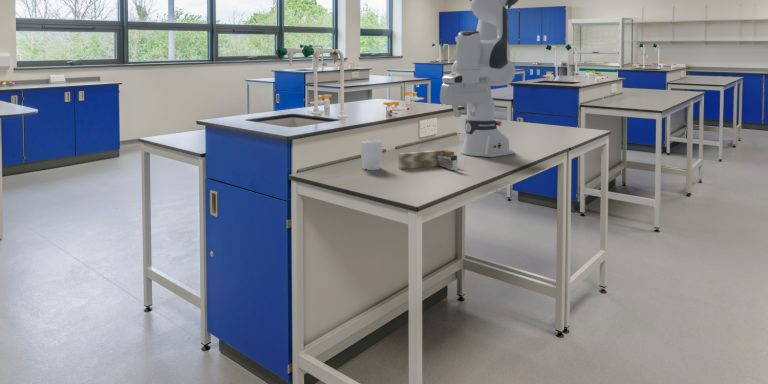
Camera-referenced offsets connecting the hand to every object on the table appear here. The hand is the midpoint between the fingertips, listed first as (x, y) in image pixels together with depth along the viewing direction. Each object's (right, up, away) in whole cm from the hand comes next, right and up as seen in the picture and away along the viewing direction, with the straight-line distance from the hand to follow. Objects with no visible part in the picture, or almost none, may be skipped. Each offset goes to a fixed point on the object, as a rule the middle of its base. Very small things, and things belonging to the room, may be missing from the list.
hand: (465, 116), depth 222 cm
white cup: (-34, -19, +3) cm, 39 cm away
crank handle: (-6, -18, +5) cm, 20 cm away
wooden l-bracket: (-14, -18, +6) cm, 23 cm away
